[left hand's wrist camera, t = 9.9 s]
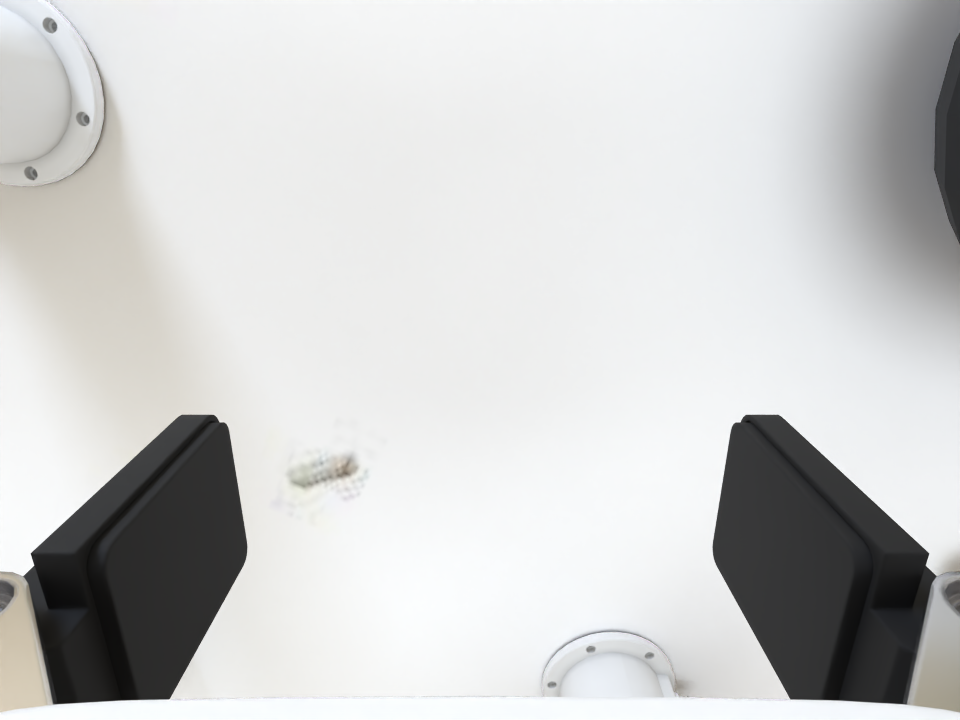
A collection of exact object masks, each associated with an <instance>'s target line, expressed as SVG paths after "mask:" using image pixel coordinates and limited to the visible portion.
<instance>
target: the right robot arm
mask: <svg viewBox="0 0 960 720" xmlns="http://www.w3.org/2000/svg"><path fill="white" fill-rule="evenodd" d="M675 688H676V682H675V675H674V672H673V669H672V666H671V664H670V662H669V660H668V658H667V656H666V655H665V654H664V653H663V652H662V650H661V649H660V648H659V647H657V646H656V645H655V644H653V643H652V642H650V641H648V640H646V639H644V638H642V637H640V636H636V635H633V634H629V633H621V632H602V633H596V634H591V635H588V636H585V637H582V638H579V639H577V640H575V641H573V642H571V643H569V644H567V645H566V646H565V647H563V648H562V649H561V650H559V651H558V652H557V653H556V654H555V655H554V656H553V658H552V659H551V660H550V661H549V663H548V665H547V667H546V668H545V671H544V674H543V678H542V693H543V697H681V696H679V695H678V694H677V692H675ZM687 698H697V697H688V696H687Z"/></svg>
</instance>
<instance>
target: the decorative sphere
mask: <svg viewBox="0 0 960 720" xmlns="http://www.w3.org/2000/svg"><path fill="white" fill-rule="evenodd" d="M934 170H935V173H936V177H937V180H938V184H939V187H940V191H941V194H942V198H943V201H944V205H945V208H946V211H947V215H948V218H949V221H950V223H951V226H952V228H953V230H954V232H955V234H956V237H957V239H958V241H959V243H960V33H959V35H958V37H957V39H956V41H955V43H954V46H953V50H952V54H951V57H950V61H949V64H948V68H947V71H946V75H945V78H944V82H943V85H942V89H941V93H940V96H939V100H938V103H937V107H936V118H935V164H934Z"/></svg>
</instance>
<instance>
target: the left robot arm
mask: <svg viewBox="0 0 960 720" xmlns="http://www.w3.org/2000/svg"><path fill="white" fill-rule="evenodd" d="M56 25H57V29H56ZM88 117H89V120H90V122H89V121H88ZM103 120H104V97H103V91H102V85H101V80H100V77H99V74H98V71H97V68H96V65H95V62H94V60H93V58H92V56H91V54H90V52H89V50H88V48H87V46H86V44H85V42H84V41H83V39H82V38H81V37H80V35H79V34H78V32H77V31H76V30H75V28H74V27H73V26H72V24H71V23H70V22H69V21H68V20H67V19H66V18H65V17H64V16H63V15H62V14H61V13H60V12H59V11H58V10H57V9H56V8H55V7H54V6H53V5H51V4H50V3H49V2H47V1H46V0H0V183H1V184H4V185H12V186H23V187H24V186H36V185H43V184H48V183H53V182H57V181H59V180H61V179H63V178H65V177H67V176H70V175H71V174H73V173H74V172H75V171H76V170H78V169H79V168H80V167H81V166H82V165H84V163H85V162H86V161H87V159H88V158H89V157H90V155H91V154H92V153H93V151H94V149H95V147H96V144H97V142H98V140H99V138H100V134H101V130H102V125H103ZM31 556H32V559H33V562H34V567H33V568H32V569H30V570H29V571H28V572H27V573H26V574H25V575H24V576H21V575H18V574H16V573H13V572H0V720H960V572H947V573H944V574H942V575H939V576H936V575H935V574H934V573H933V572H932V571H931V570H930V569H928V568H927V567H926V562H927V559H928V556H929V553H928V552H927V551H926V550H925V549H924V548H923V547H922V546H921V545H919V544H918V543H917V542H916V541H915V540H914V539H913V538H912V537H911V536H910V535H909V534H908V533H907V532H905V531H904V530H903V529H902V528H901V527H900V526H899V525H898V524H897V523H896V522H895V521H894V520H892V519H891V518H890V517H889V516H888V515H887V514H886V513H885V512H884V511H883V510H882V509H881V508H880V507H878V506H877V505H876V504H875V503H874V502H873V501H872V500H871V499H870V498H869V497H868V496H867V495H865V494H864V493H863V492H862V491H861V490H860V489H859V488H858V487H857V486H856V485H855V484H854V483H853V482H851V481H850V480H849V479H848V478H847V477H846V476H845V475H844V474H843V473H842V472H841V471H840V470H838V469H837V468H836V467H835V466H834V465H833V464H832V463H831V462H830V461H829V460H828V459H827V458H826V457H824V456H823V455H822V454H821V453H820V452H819V451H818V450H817V449H816V448H815V447H814V446H813V445H811V444H810V443H809V442H808V441H807V440H806V439H805V438H804V437H803V436H802V435H801V434H800V433H799V432H797V431H796V430H795V429H794V428H793V427H792V426H791V425H790V424H789V423H788V422H787V421H786V420H784V419H783V418H782V417H781V416H779V415H745V416H744V417H743V419H742V421H741V423H735V424H733V426H732V429H731V434H730V440H729V446H728V452H727V459H726V465H725V471H724V477H723V484H722V490H721V496H720V502H719V509H718V515H717V521H716V527H715V533H714V540H713V556H714V560H715V563H716V565H717V567H718V569H719V571H720V573H721V574H722V576H723V578H724V580H725V582H726V583H727V585H728V587H729V589H730V591H731V593H732V594H733V596H734V598H735V600H736V602H737V603H738V605H739V607H740V609H741V611H742V612H743V614H744V616H745V618H746V620H747V621H748V623H749V625H750V627H751V629H752V630H753V632H754V634H755V636H756V638H757V640H758V641H759V643H760V645H761V647H762V649H763V650H764V652H765V654H766V656H767V658H768V659H769V661H770V663H771V665H772V667H773V668H774V670H775V672H776V674H777V676H778V678H779V679H780V681H781V683H782V685H783V687H784V688H785V690H786V692H787V694H788V696H789V697H790V699H791V700H789V699H738V698H687V697H493V696H467V697H273V698H222V699H171V700H169V699H170V697H171V696H172V694H173V692H174V690H175V688H176V687H177V685H178V683H179V681H180V679H181V678H182V676H183V674H184V672H185V670H186V668H187V667H188V665H189V663H190V661H191V659H192V658H193V656H194V654H195V652H196V650H197V649H198V647H199V645H200V643H201V641H202V640H203V638H204V636H205V634H206V632H207V630H208V629H209V627H210V625H211V623H212V621H213V620H214V618H215V616H216V614H217V612H218V611H219V609H220V607H221V605H222V603H223V602H224V600H225V598H226V596H227V594H228V593H229V591H230V589H231V587H232V585H233V583H234V582H235V580H236V578H237V576H238V574H239V573H240V571H241V569H242V567H243V565H244V563H245V560H246V556H247V540H246V533H245V527H244V521H243V515H242V509H241V502H240V496H239V490H238V484H237V477H236V471H235V465H234V459H233V452H232V446H231V440H230V434H229V429H228V426H227V424H225V423H219V421H218V419H217V417H216V416H215V415H181V416H179V417H178V418H177V419H176V420H174V421H173V422H172V423H171V424H170V425H169V426H168V427H167V428H166V429H165V430H164V431H163V432H161V433H160V434H159V435H158V436H157V437H156V438H155V439H154V440H153V441H152V442H151V443H150V444H149V445H147V446H146V447H145V448H144V449H143V450H142V451H141V452H140V453H139V454H138V455H137V456H136V457H134V458H133V459H132V460H131V461H130V462H129V463H128V464H127V465H126V466H125V467H124V468H123V469H122V470H120V471H119V472H118V473H117V474H116V475H115V476H114V477H113V478H112V479H111V480H110V481H109V482H107V483H106V484H105V485H104V486H103V487H102V488H101V489H100V490H99V491H98V492H97V493H96V494H95V495H93V496H92V497H91V498H90V499H89V500H88V501H87V502H86V503H85V504H84V505H83V506H82V507H80V508H79V509H78V510H77V511H76V512H75V513H74V514H73V515H72V516H71V517H70V518H69V519H68V520H66V521H65V522H64V523H63V524H62V525H61V526H60V527H59V528H58V529H57V530H56V531H55V532H53V533H52V534H51V535H50V536H49V537H48V538H47V539H46V540H45V541H44V542H43V543H42V544H41V545H39V546H38V547H37V548H36V549H35V550H34V551H33V552H32V553H31Z"/></svg>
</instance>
